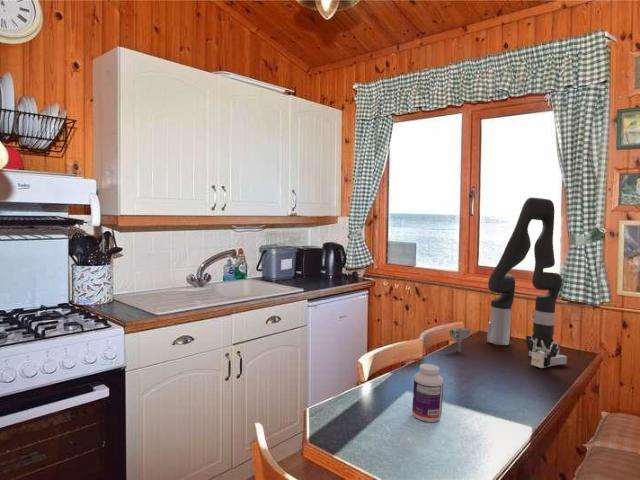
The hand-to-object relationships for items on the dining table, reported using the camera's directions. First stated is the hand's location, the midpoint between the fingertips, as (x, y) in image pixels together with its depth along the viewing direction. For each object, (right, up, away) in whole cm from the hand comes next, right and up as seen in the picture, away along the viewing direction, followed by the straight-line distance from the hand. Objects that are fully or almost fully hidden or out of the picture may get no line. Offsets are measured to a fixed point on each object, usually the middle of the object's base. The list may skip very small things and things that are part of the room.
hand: (540, 364), depth 175 cm
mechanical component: (-28, +1, +16) cm, 32 cm away
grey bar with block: (+4, -1, +2) cm, 5 cm away
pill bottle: (-58, 0, -51) cm, 77 cm away
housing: (+8, -1, +14) cm, 16 cm away
